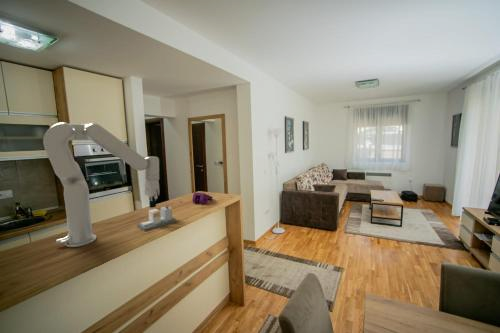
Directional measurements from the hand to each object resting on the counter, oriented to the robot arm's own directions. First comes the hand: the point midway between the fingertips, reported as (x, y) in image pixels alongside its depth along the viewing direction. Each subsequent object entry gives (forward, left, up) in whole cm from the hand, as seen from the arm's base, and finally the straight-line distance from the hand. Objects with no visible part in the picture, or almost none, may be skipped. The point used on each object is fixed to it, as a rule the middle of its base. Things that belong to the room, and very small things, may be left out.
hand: (152, 207), depth 132 cm
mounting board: (+2, 0, -11) cm, 12 cm away
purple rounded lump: (+51, +18, -12) cm, 55 cm away
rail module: (+1, 0, -10) cm, 10 cm away
